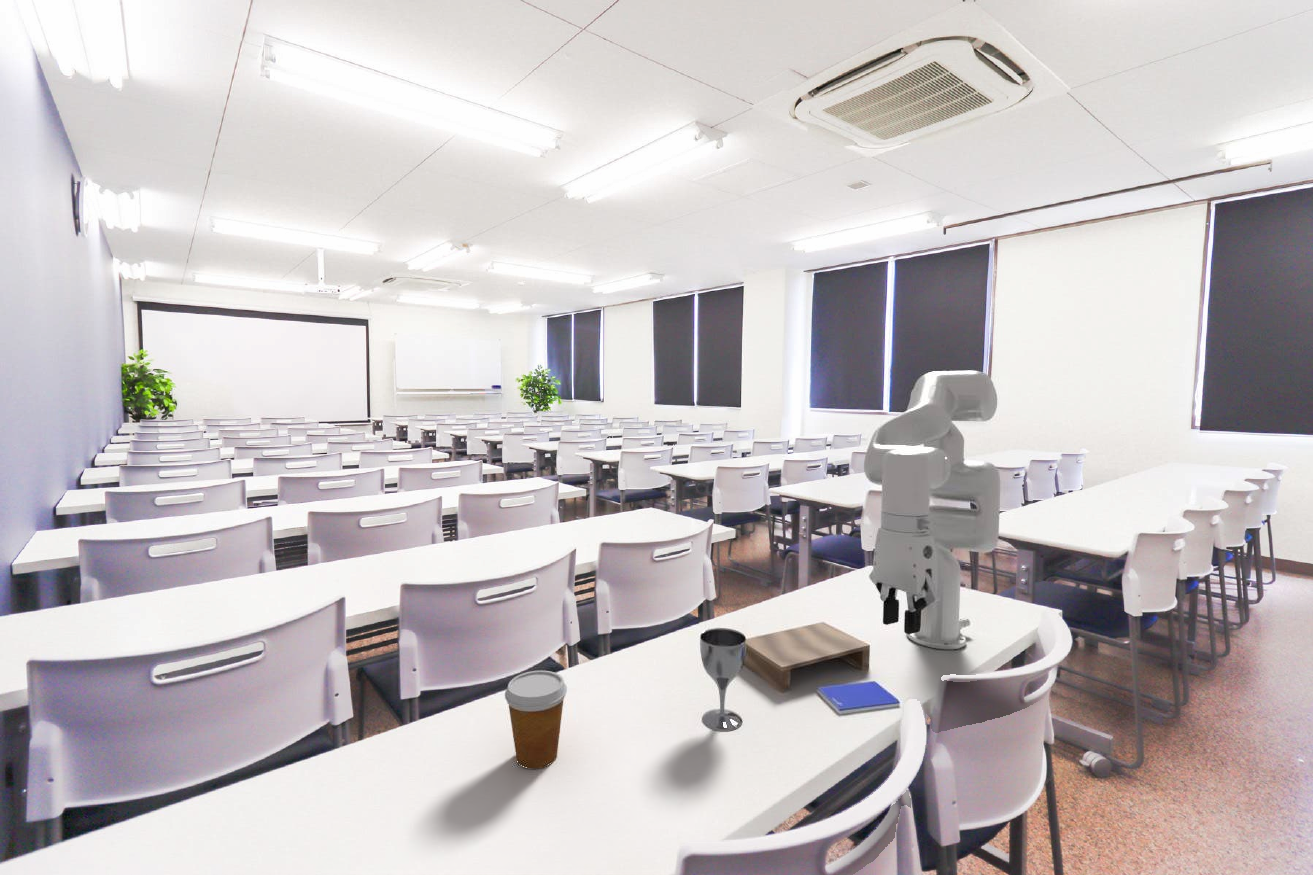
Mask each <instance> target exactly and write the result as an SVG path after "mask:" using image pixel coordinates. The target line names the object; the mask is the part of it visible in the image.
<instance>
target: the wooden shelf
mask: <svg viewBox="0 0 1313 875" xmlns="http://www.w3.org/2000/svg"><path fill="white" fill-rule="evenodd" d="M870 652H871V645H870V644H869V643H866V641H865V642H864V641H862V640H860V639H859V638H857V637H855V636H852V635H850V634H849V633H846V632H844V631H842V630H840V629H838V628H836V627H834V626H832V625H831V624H828V623H826V622H824V621H822V622H817V623H811V624H808V625H804V626H799V627H793V628H789V629H786V630H780V631H777V632H771V633H767V634H763V635H759V636H754V637H749V638H746V653H745V659H744V664H743V667H745V668H747V669H748V670H749V671H751V672H752V673H753V674H755V675H756V676H758V677H760V679H762V680H764V681H765V682H766V683H767V684H769V685H770V686H772V687H773V688H775V689H776V690H777V691H779V692H781V693H784V692H789V691H790V690H791V670H792V669H796V668H800V667H804V666H805V667H806V666H808V665H812V664H816V663H821V662H824V661H827V660H832V659H834V658H839V659H841V660H843V661H845V662H847V663H849V664H850V665H852V666H854V667H856V668H857V669H860V670H861V671H864V670H867V669H870V657H871V655H870Z"/></svg>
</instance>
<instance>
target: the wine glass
mask: <svg viewBox="0 0 1313 875" xmlns="http://www.w3.org/2000/svg"><path fill="white" fill-rule="evenodd" d="M746 639H747V638H746V635H745V634H744V633H743V632H740V631H738V630H736V629H732V628H726V627H716V628H715V627H714V628H710V629H706V630H704V631H702V632H701V633H700V637H699V645H700V646H699V648H700V657H701V658H700V659H701V661H702V665H703V668H704V670H705V672H706V674H707V675H708V676H709V677H710V678H711V679H712V680H713V682H714V683H715V685H716V686H717V689H718V694H719V695H718V696H719V708H714V709H710V710H708V711H706V712H705V713H703V715H702V717H701V721H702V723H703V724H704V726H706V727H707V728H709V729H711V730H713V731H717V732H732V731H733V732H734V731H736V730H737V729H739V728H740V727H741V726H742V725H743V718H742V717H741V715H740V714H739V713H737V712H735V711H733V710H730V709H727V708H725V705H726V704H725V703H726V702H725V701H726V693H727V690H728V686H729V685H730V684H731V683H732V681H733V680H734V679H736V678H737V677H738V676H739V675H740V673H741V672H742V669H743V667H744V665H743V664H744V659H745V653H746Z"/></svg>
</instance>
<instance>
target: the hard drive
mask: <svg viewBox="0 0 1313 875" xmlns="http://www.w3.org/2000/svg"><path fill="white" fill-rule="evenodd" d="M816 693H817V694H818V695H819V696H820V697H821V698H822V699H823V700H824V702H826V703H827V704H829V706H830V707H832V709H833V710H835V712H836V713H838V715H844V714H850V713H851V714H852V713H856V712H857V713H859V712H866V711H873V710H879V709H881V710H882V709H887V708H889V709H890V708H895V707H900V706H901V702H900V700H899V699H898V698H897V697H896V696H894V695H893V694H892V693H890V692H889V691H888V690H887V689H885V688H884V687H882V685H880V684H879V683H878V682H877V681H875V680H871V681H865V682H856V683H847V684H846V683H845V684H838V685H829V686H821V687H816Z"/></svg>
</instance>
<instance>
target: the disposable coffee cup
mask: <svg viewBox="0 0 1313 875" xmlns="http://www.w3.org/2000/svg"><path fill="white" fill-rule="evenodd" d="M567 692H568V686H567V685H566V683H565V681H564V678H563V676H562V675H561V674H559V673H557V672H553V671H549V670H532V671H527V672H524V673H521V674H519V675H516V676H514V678H512V679H511V680H510V681H509V682H508V684H507V688H506V690H505V691H504V699H505V700H506V703H507V705H508V709H509V717H510V723H511V731H512V737H513V743H514V749H515V750H514V751H515V758H516V762H517V761H518V763H519V764H520V765H522V766H524V767H527V768H526V769H528V768H531V769H530V770H537V768H539V769H542V768H541V767H543V768H545V767H544V766H546V767H547V765H548V764H550V763H551V764H553V763H552V762H553V761H554V762H555V760H556V759H557V758H558V750H559V749H558V748H559V741H560V740H559V739H560V733H561V724H562V723H561V722H562V716H563V707H564V699H565V697H566V695H567ZM518 763H517V764H518ZM519 764H518V765H519ZM551 764H550V765H551ZM520 765H519V766H520ZM522 766H521V767H522ZM548 766H549V765H548ZM524 767H523V768H524Z"/></svg>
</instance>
